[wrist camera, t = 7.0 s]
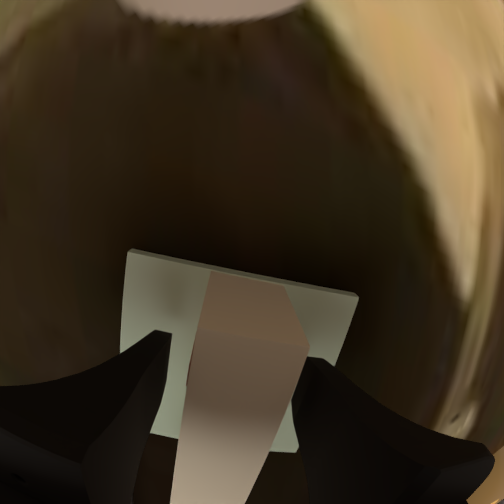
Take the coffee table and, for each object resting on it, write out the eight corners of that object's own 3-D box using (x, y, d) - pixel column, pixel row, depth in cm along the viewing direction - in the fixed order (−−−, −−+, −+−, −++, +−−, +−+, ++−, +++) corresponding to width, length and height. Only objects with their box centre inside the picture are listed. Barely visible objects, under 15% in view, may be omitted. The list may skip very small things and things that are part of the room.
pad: (354, 292, 14) (359, 297, 13) (294, 445, 16) (295, 452, 15) (132, 248, 13) (127, 251, 12) (123, 418, 15) (120, 424, 14)
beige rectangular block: (284, 285, 13) (312, 347, 8) (235, 448, 15) (237, 520, 10) (209, 270, 13) (195, 326, 8) (179, 439, 15) (168, 511, 10)
